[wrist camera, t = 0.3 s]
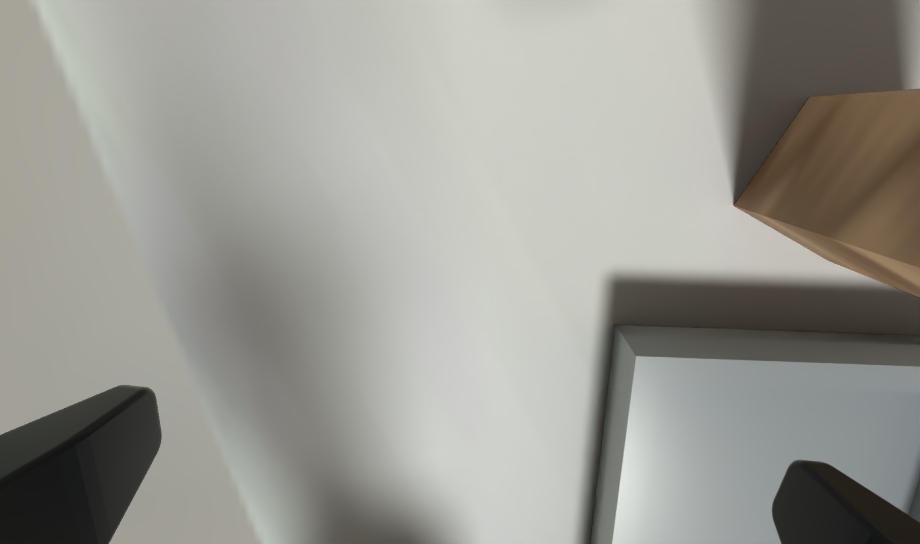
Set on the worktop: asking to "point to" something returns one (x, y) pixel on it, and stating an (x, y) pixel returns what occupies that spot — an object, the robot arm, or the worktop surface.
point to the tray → (748, 427)
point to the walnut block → (848, 184)
